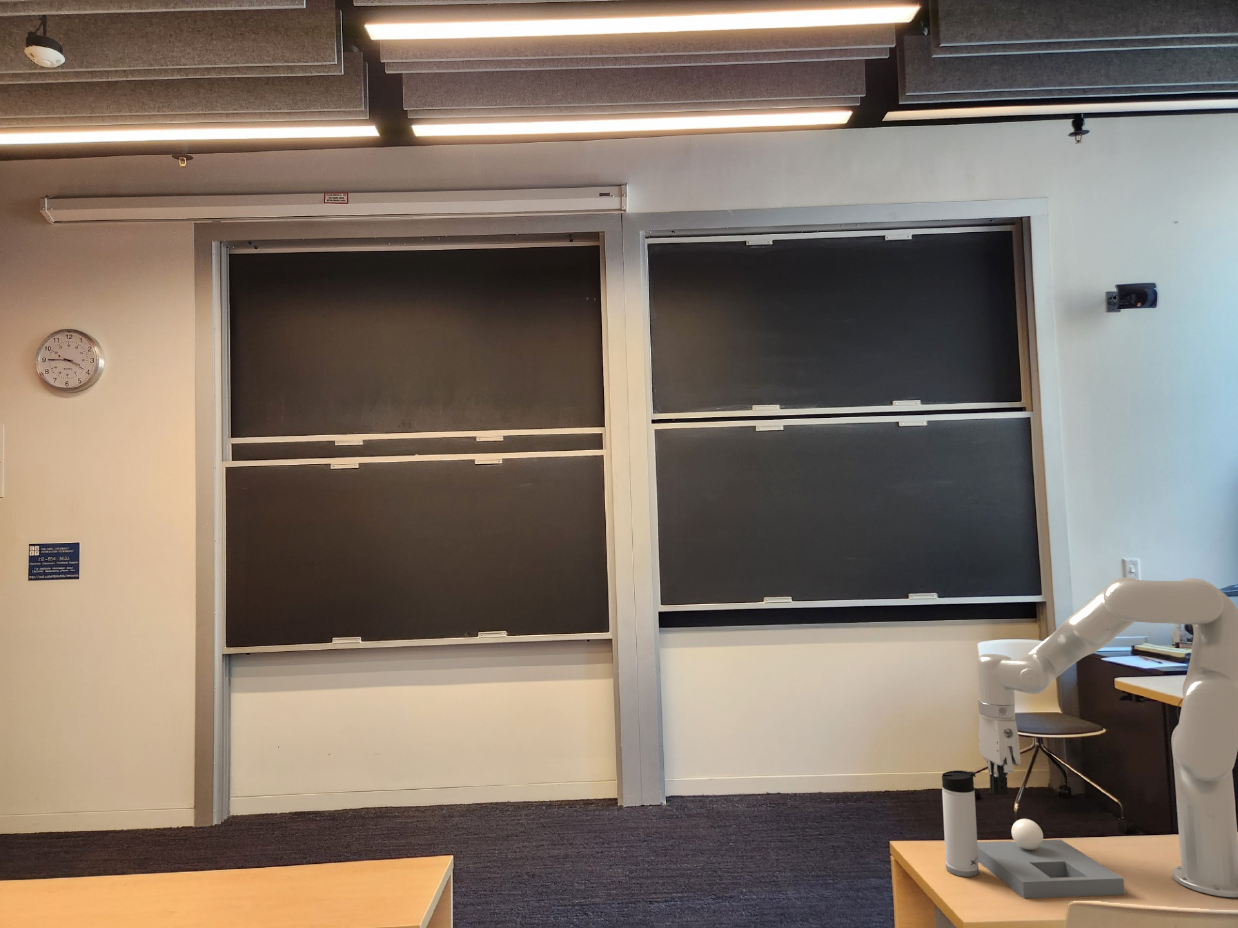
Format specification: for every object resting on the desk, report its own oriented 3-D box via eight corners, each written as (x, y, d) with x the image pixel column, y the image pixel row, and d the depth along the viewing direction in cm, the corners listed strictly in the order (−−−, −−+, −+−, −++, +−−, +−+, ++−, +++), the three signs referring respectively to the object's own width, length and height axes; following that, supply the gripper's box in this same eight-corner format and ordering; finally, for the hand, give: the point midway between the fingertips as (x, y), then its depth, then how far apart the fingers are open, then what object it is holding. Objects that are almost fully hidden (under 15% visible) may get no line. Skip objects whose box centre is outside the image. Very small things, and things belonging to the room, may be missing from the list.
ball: (1033, 842, 171) (1032, 814, 172) (1050, 853, 165) (1048, 824, 166) (1006, 843, 171) (1005, 814, 172) (1022, 854, 165) (1020, 824, 166)
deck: (1061, 853, 173) (1060, 839, 173) (1124, 894, 153) (1123, 878, 153) (972, 856, 172) (971, 842, 172) (1023, 898, 152) (1022, 881, 152)
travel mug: (983, 878, 161) (978, 776, 163) (949, 875, 162) (944, 775, 164) (976, 865, 167) (971, 768, 169) (943, 863, 168) (938, 766, 170)
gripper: (1031, 718, 173) (1033, 804, 172) (995, 702, 188) (997, 782, 186) (997, 718, 173) (1000, 804, 171) (964, 702, 188) (966, 782, 186)
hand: (998, 792), depth 179 cm, fingers closed
